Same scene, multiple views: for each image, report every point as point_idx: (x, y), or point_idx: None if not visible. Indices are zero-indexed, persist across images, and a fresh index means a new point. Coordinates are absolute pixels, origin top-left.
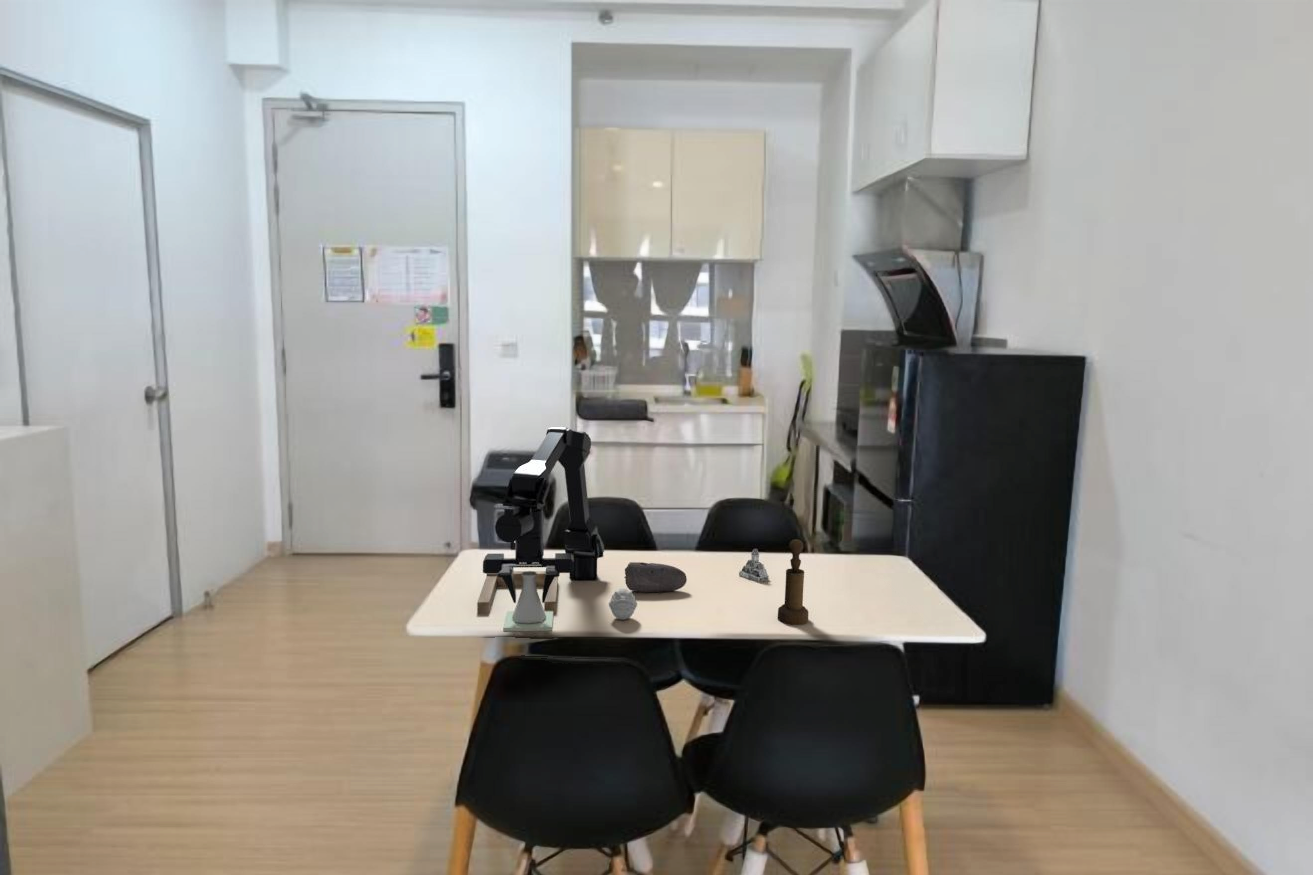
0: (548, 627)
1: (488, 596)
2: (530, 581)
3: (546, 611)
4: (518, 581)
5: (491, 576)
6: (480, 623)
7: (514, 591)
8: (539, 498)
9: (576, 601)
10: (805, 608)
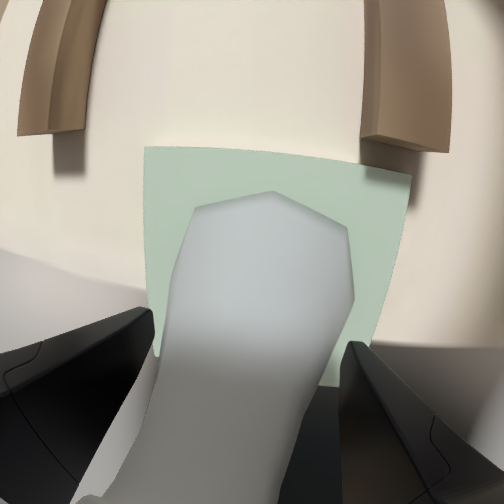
0: (338, 385)
1: (52, 48)
2: None
3: (373, 182)
4: None
5: None
6: (73, 249)
7: (112, 415)
8: None
9: (496, 37)
10: None
